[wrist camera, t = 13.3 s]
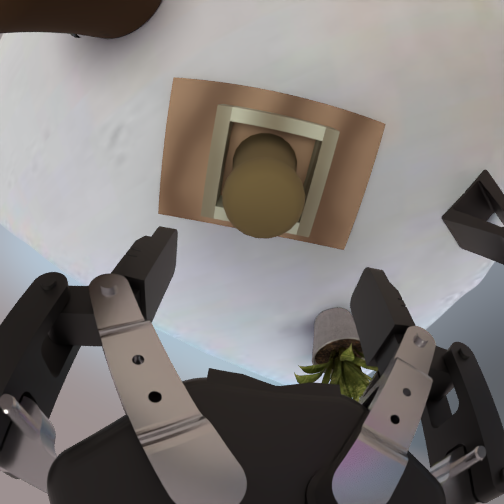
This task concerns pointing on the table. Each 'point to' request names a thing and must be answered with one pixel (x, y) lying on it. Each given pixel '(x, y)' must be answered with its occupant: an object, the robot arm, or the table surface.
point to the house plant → (337, 354)
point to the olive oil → (76, 16)
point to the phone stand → (479, 219)
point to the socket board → (275, 122)
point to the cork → (263, 187)
